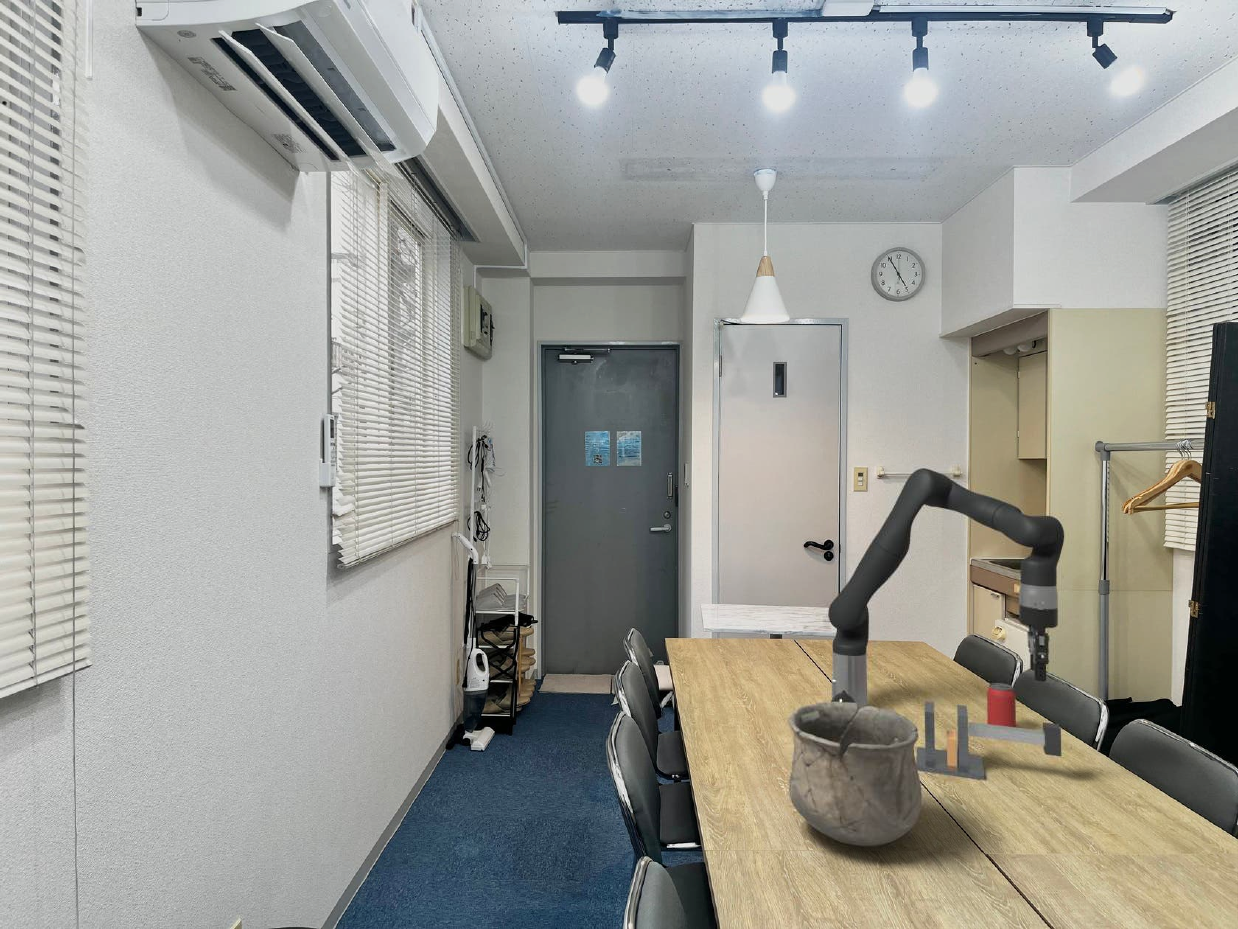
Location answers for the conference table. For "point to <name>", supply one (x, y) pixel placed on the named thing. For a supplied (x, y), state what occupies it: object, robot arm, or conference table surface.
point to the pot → (855, 772)
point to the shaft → (1022, 735)
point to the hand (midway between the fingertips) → (1037, 675)
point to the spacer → (951, 748)
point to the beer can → (1001, 705)
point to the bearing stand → (937, 759)
